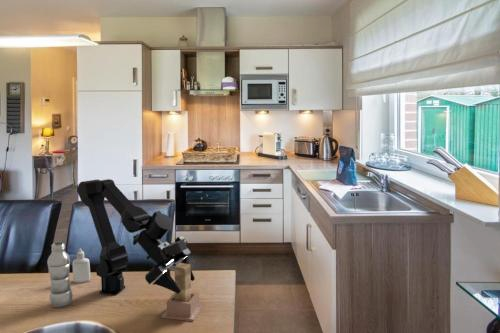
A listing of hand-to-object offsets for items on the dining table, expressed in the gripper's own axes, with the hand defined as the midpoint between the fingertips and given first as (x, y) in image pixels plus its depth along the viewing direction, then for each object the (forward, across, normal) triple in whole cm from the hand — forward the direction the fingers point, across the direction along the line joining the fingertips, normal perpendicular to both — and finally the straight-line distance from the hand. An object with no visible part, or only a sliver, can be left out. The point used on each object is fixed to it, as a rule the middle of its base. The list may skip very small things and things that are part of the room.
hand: (186, 286), depth 123 cm
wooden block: (+4, 0, +6) cm, 8 cm away
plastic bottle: (-22, -9, +34) cm, 41 cm away
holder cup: (+5, 0, +7) cm, 8 cm away
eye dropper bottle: (-27, +8, +39) cm, 48 cm away
